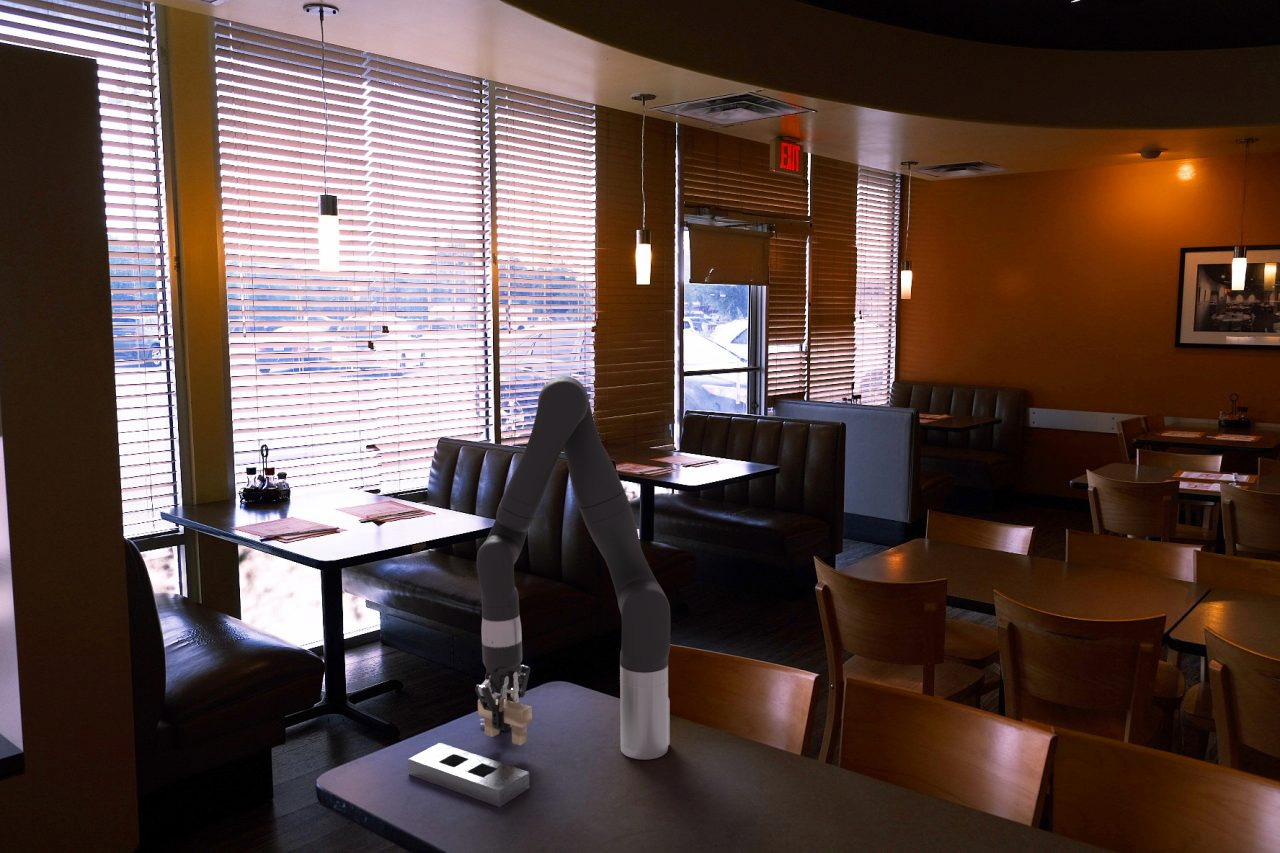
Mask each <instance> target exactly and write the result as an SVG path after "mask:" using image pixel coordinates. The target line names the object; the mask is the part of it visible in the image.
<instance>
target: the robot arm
mask: <svg viewBox="0 0 1280 853" xmlns="http://www.w3.org/2000/svg"><path fill="white" fill-rule="evenodd" d="M562 450H563V453H564V456H565V460H566V463H567V468H568V473H569V478H570V482H571V486H572V490H573V494H574V497H575V500H576V503H577V507H578V509H579V512H580V514H581V516H582V519H583V522H584V524H585V526H586V528H587V530H588V532H589V535H590V537H591V538H592V541H593V542H594V544H595V545H596V547H597V549H598V551H599V552H600V554H601V556H602V557H603V559H604V561H605V563H606V566H607V568H608V570H609V574H610V577H611V580H612V584H613V587H614V591H615V595H616V598H617V604H618V609H619V612H620V615H621V648H620V653H619V670H620V671H619V672H620V673H619V675H620V676H619V680H620V681H619V683H620V684H619V685H620V695H619V696H620V700H619V701H620V702H619V703H620V704H619V705H620V710H619V711H620V713H619V714H620V751H621V753H622V754H623V755H624V756H626V757H628V758H630V759H634V760H644V761H645V760H653V759H658V758H660V757H663V756H664V755H665V754H667V752H668V749H669V746H670V743H671V742H670V738H671V737H670V727H671V726H670V721H671V719H670V716H671V715H670V710H671V709H670V707H671V704H670V702H671V701H670V698H669V654H670V650H671V606H670V602H669V600H668V597H667V596H666V593H665V591H664V590H663V589H662V587H661V586H660V584H659V582H658V581H657V579H656V577H655V576H654V574H653V571H652V569H651V567H650V566H649V563H648V561H647V559H646V557H645V555H644V552H643V550H642V547H641V542H640V537H639V532H638V527H637V523H636V520H635V515H634V513H633V509H632V507H631V503H630V501H629V498H628V495H627V493H626V490H625V488H624V486H623V484H622V481H621V479H620V477H619V475H618V472H617V470H616V467H615V466H614V463H613V462H612V460H611V458H610V456H609V454H608V452H607V450H606V449H605V446H604V445H603V442H602V440H601V438H600V435H599V432H598V429H597V425H596V422H595V418H594V415H593V411H592V407H591V403H590V398H589V395H588V391H587V389H586V388H585V386H584V384H583V383H581V382H580V381H579V380H578V379H576V378H574V377H571V376H568V375H559V376H555V377H554V378H551V379H550V380H549V381H547V382H546V383H545V385H544V386H543V388H542V389H541V390H540V393H539V394H538V398H537V409H536V412H535V416H534V421H533V425H532V428H531V432H530V436H529V438H528V441H527V444H526V447H525V449H524V451H523V453H522V456H521V457H520V459H519V461H518V464H517V466H516V468H515V470H514V471H513V473H512V475H511V477H510V480H509V482H508V483H507V485H506V489H505V491H504V493H503V496H502V498H501V499H500V502H499V505H498V507H497V510H496V514H495V515H496V518H495V521H494V522H493V525H492V527H491V529H490V531H489V533H488V535H487V538H486V540H485V541H484V542H483V544H482V545H480V547H479V548H478V551H477V553H476V554H477V555H476V573H477V578H478V583H479V588H480V591H481V618H482V620H481V650H482V651H481V652H482V653H481V654H482V664H483V665H484V667H485V668H486V673H485V677H484V679H485V680H484V681H483V682H482V683H481V684H476V685H475V688H474V690H475V692H476V693H475V694H476V695H477V696H478V700H480V702H481V704H482V706H483V709H484V710H488V711H491V712H492V725H493V727H494V728H495V729H498V730H499V731H503V730H502V729H504V728H505V726H504V711H503V708H504V699H505V700H509V701H512V702H516V703H519V702H520V699H521V698H522V699H523V698H524V697H525V695H526V691H527V685H528V681H529V678H530V673H531V667H530V666H528V665H525V664H521V663H522V661H523V642H522V641H523V638H522V637H523V635H522V634H523V633H522V622H521V617H520V616H521V615H520V599H519V598H520V597H519V596H520V595H519V591H518V589H517V587H516V586H515V564H516V562H517V560H518V559H519V557H520V554H521V552H522V549H523V546H524V544H525V541H526V537H527V535H528V532H529V528H530V527H531V525H532V524H533V522H534V520H535V517H536V515H537V513H538V511H539V508H540V505H541V503H542V501H543V500H544V499H543V498H544V496H545V493H546V492H547V489H548V486H549V483H550V480H551V477H552V474H553V472H554V469H555V466H556V464H557V462H558V459H559V457H560V455H561V453H562ZM496 692H498V693H496ZM499 693H500V694H499ZM496 699H498V704H496Z"/></svg>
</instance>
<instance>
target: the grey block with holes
mask: <svg viewBox="0 0 1280 853" xmlns="http://www.w3.org/2000/svg"><path fill="white" fill-rule="evenodd" d="M409 774H410V776H413V777H415V778H417V779H420V778H421V780H424V781H426V782H429V783H431V784H435V785H437V786H440V787H442V788H444V789H445V788H446V789H448V790H451V791H454V792H457V793H459V794H463V795H464V796H467V797H471V798H473V799H476V800H479V801H481V802H484V803H487V804H490V805H492V806H494V807H498V808H501V807H502V806H504V805H505V804H507V803H508V802H510V801H512V800H513V799H515V798H516V797H519V795H521V794H523V793H525V792H526V791H527V790H529V789H530V772H529V771H527V770H523V769H520V768H517V767H515V766H511V765H508V764H506V763H503V762H500V761H496V760H494V759H491V758H488V757H484V756H481V755H478V754H475V753H472V752H469V751H466V750H463V749H460V748H456V747H453V746H451V745H448V744H445V743H443V742H438V743H436V744H435V745H433V746H430V747H428V748H427V749H425V750H423V751H421V752H419V753H417V754H414V755H413V756H411V757H409V758H408V775H409Z"/></svg>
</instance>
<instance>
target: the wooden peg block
mask: <svg viewBox="0 0 1280 853" xmlns="http://www.w3.org/2000/svg"><path fill="white" fill-rule="evenodd" d="M496 704H498V699H496ZM503 711H504V723H508V724H511V743H512V744H513V745H517V746H522V745H524V744H525V743H527V742H528V730H527V729H528V728H527V725H529V724H531V723H533V715H532V714H533V712H532V711H533V709H532V706H531V705H527V704H523V703H519V702H518V703H516V702H512V701H509V700H505V699H504V708H503ZM477 713H478V716H480V717H483V719H484V721H483V723H484V725H483V728H484V736H487V737H491V738H494V737H496V736H497V735H499V734H500V730H498V729H495V728H494V727H493V725H492V712H491V711H488V710H484V709H483V706H482V704H481V702H480V700H479V699H478V700H477Z"/></svg>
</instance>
